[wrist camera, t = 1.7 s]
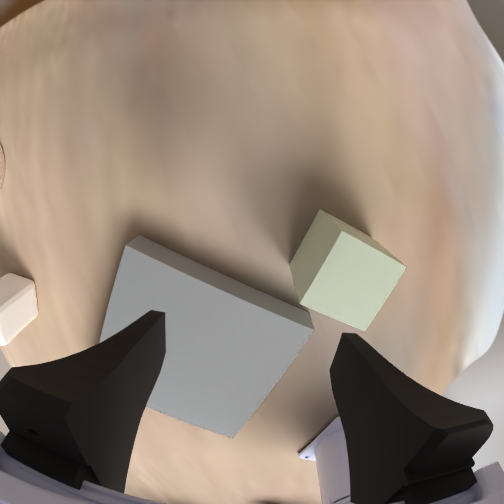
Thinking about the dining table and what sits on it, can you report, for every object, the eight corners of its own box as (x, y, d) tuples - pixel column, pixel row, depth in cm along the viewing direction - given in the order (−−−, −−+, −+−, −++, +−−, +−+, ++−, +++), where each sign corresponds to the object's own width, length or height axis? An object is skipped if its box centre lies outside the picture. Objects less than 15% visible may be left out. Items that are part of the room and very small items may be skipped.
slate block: (308, 309, 24) (314, 329, 21) (234, 415, 28) (232, 438, 25) (141, 233, 22) (125, 244, 19) (104, 360, 26) (91, 379, 23)
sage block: (371, 237, 21) (406, 267, 15) (341, 288, 22) (364, 331, 17) (319, 209, 21) (342, 230, 15) (289, 264, 22) (299, 304, 16)
